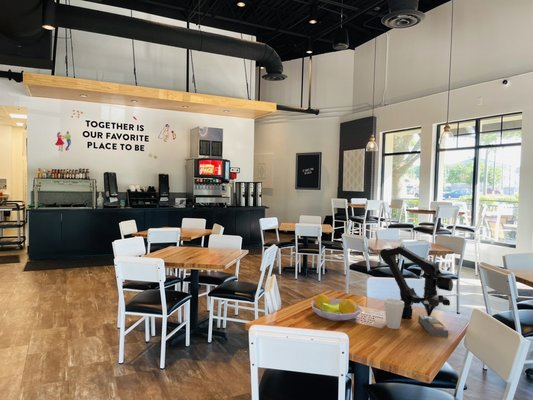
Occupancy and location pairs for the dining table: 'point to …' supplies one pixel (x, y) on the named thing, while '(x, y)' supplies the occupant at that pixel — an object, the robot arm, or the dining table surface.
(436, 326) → the terracotta button
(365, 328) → the dining table surface
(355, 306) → the fruit bowl
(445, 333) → the button panel
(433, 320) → the sage button
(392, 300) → the foam cup
